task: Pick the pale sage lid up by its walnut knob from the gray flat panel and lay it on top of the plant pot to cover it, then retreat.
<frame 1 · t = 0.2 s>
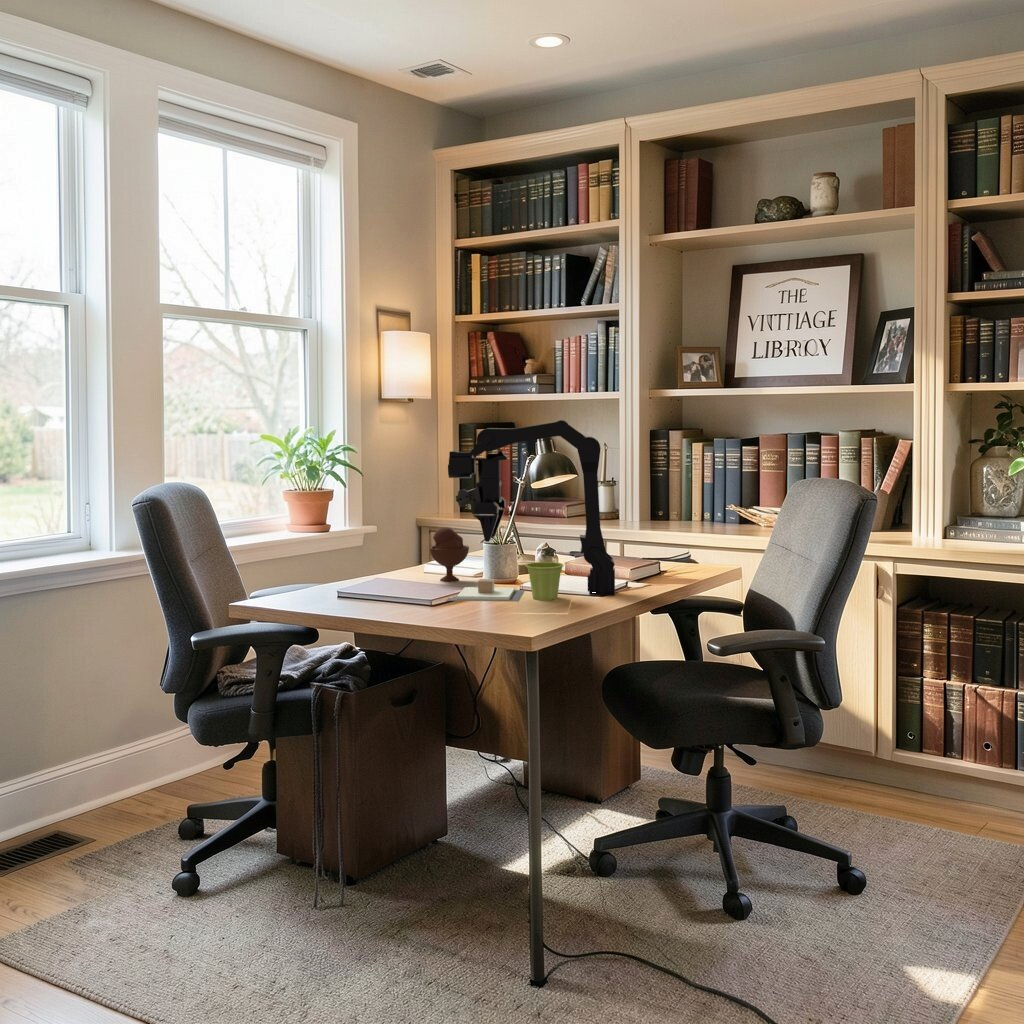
hand: (489, 539, 274), 14 cm above the table, fingers open, 9 cm apart
ice cream bowl: (449, 582, 294), on the table
gray flat panel: (486, 596, 271), on the table
sage lid: (486, 595, 271), resting on gray flat panel
plant pot: (544, 600, 266), on the table
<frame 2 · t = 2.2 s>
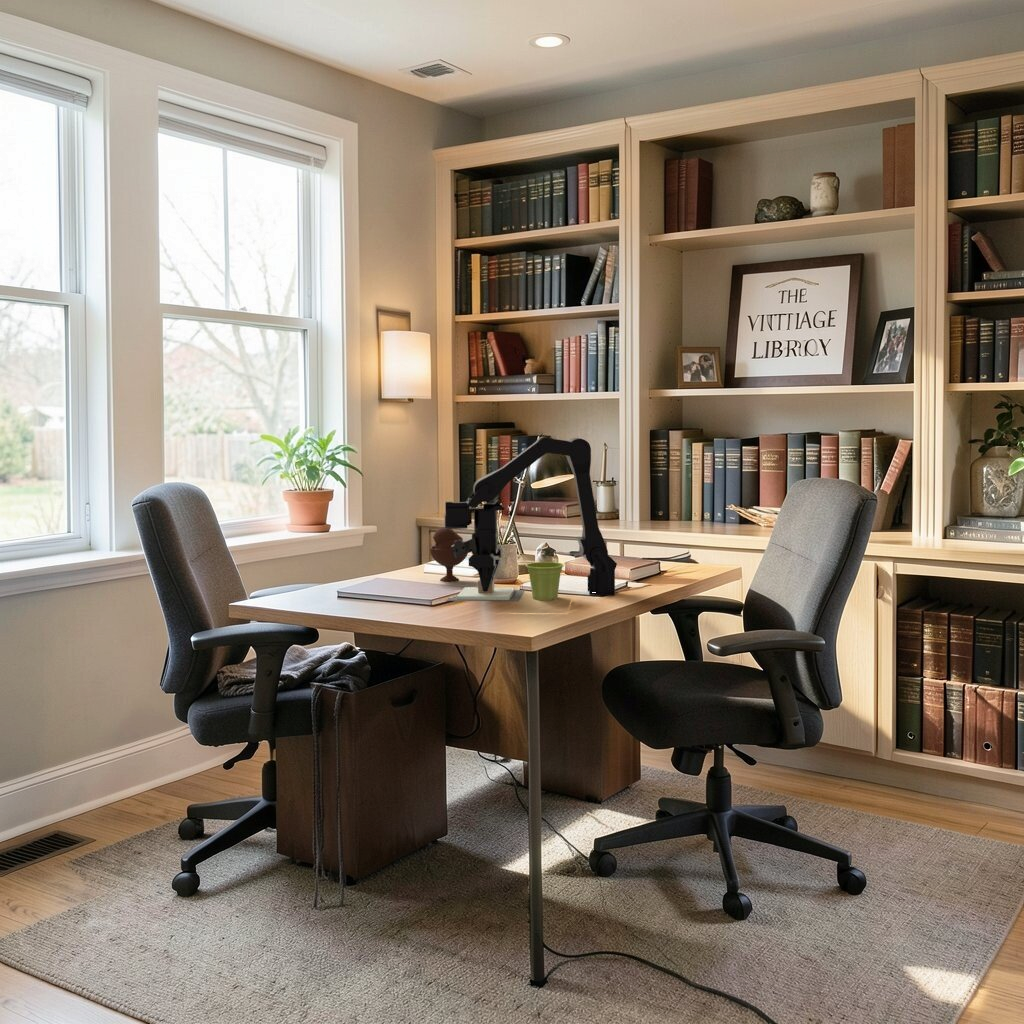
hand: (486, 589, 271), 2 cm above the table, fingers closed on sage lid, 4 cm apart
sage lid: (486, 595, 271), resting on gray flat panel, touching gripper
everything else where it was.
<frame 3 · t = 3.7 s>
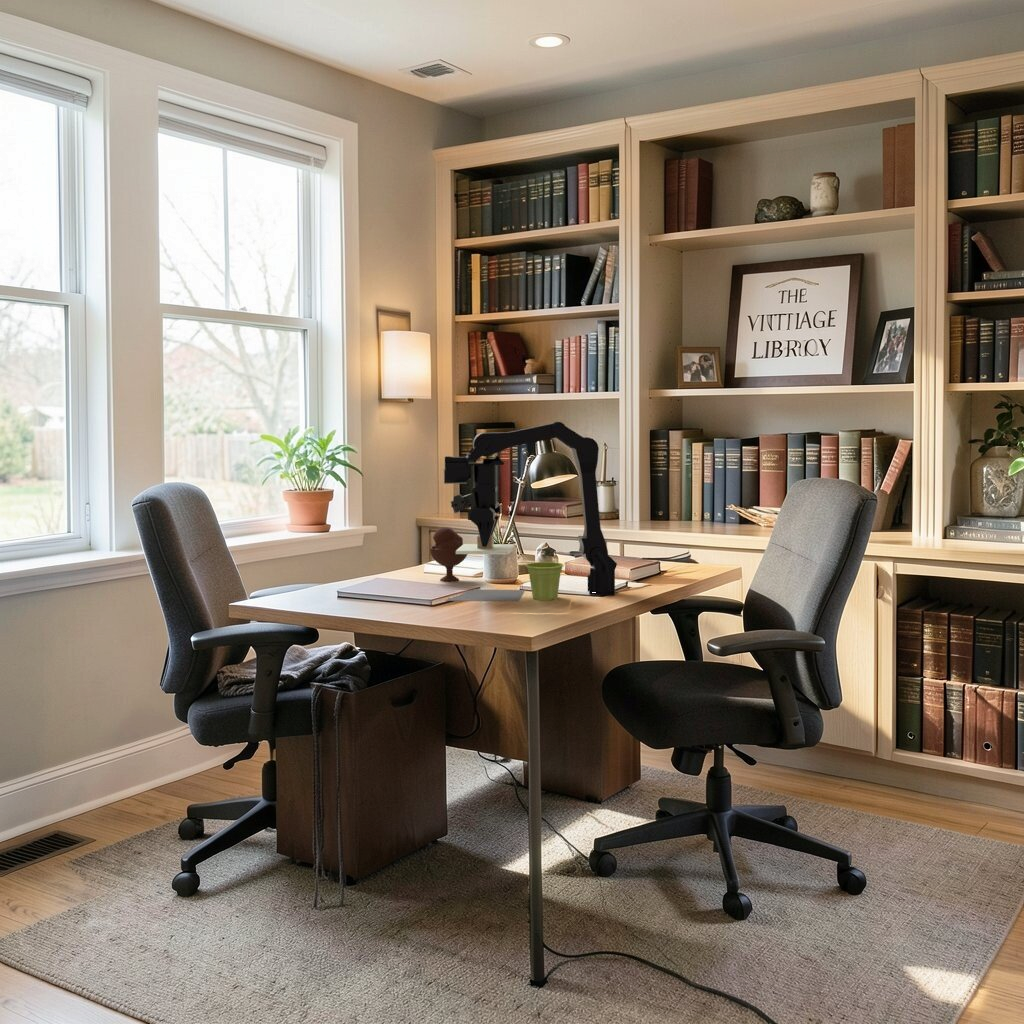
hand: (485, 545, 270), 13 cm above the table, fingers closed on sage lid, 4 cm apart
sage lid: (485, 550, 270), point 12 cm above the table, touching gripper
everything else where it was.
when the fingers open (12 cm above the table, at t = 5.3 s): sage lid drops 2 cm, resting on plant pot.
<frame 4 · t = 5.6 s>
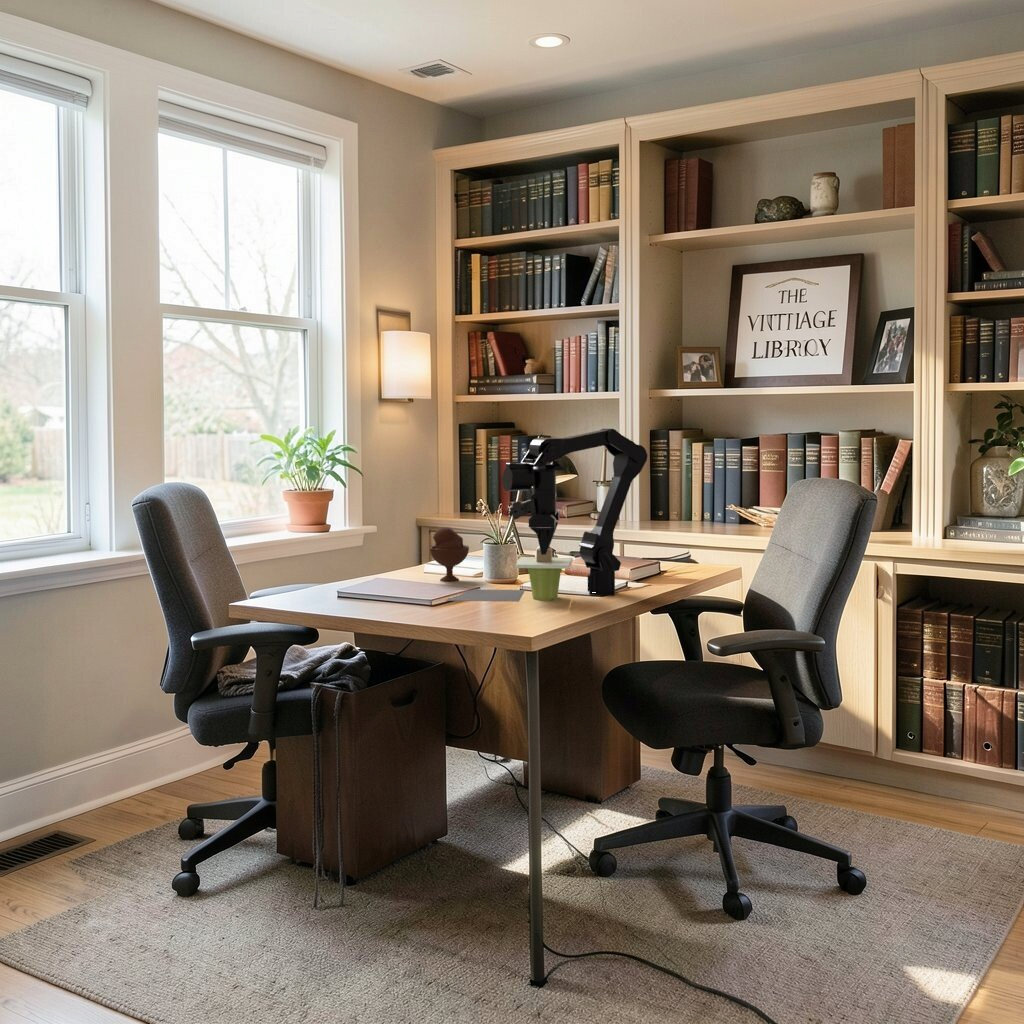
hand: (544, 552, 265), 12 cm above the table, fingers open, 6 cm apart
sage lid: (544, 564, 265), point 9 cm above the table, touching plant pot
plant pot: (544, 600, 266), on the table, touching sage lid
everything else where it was.
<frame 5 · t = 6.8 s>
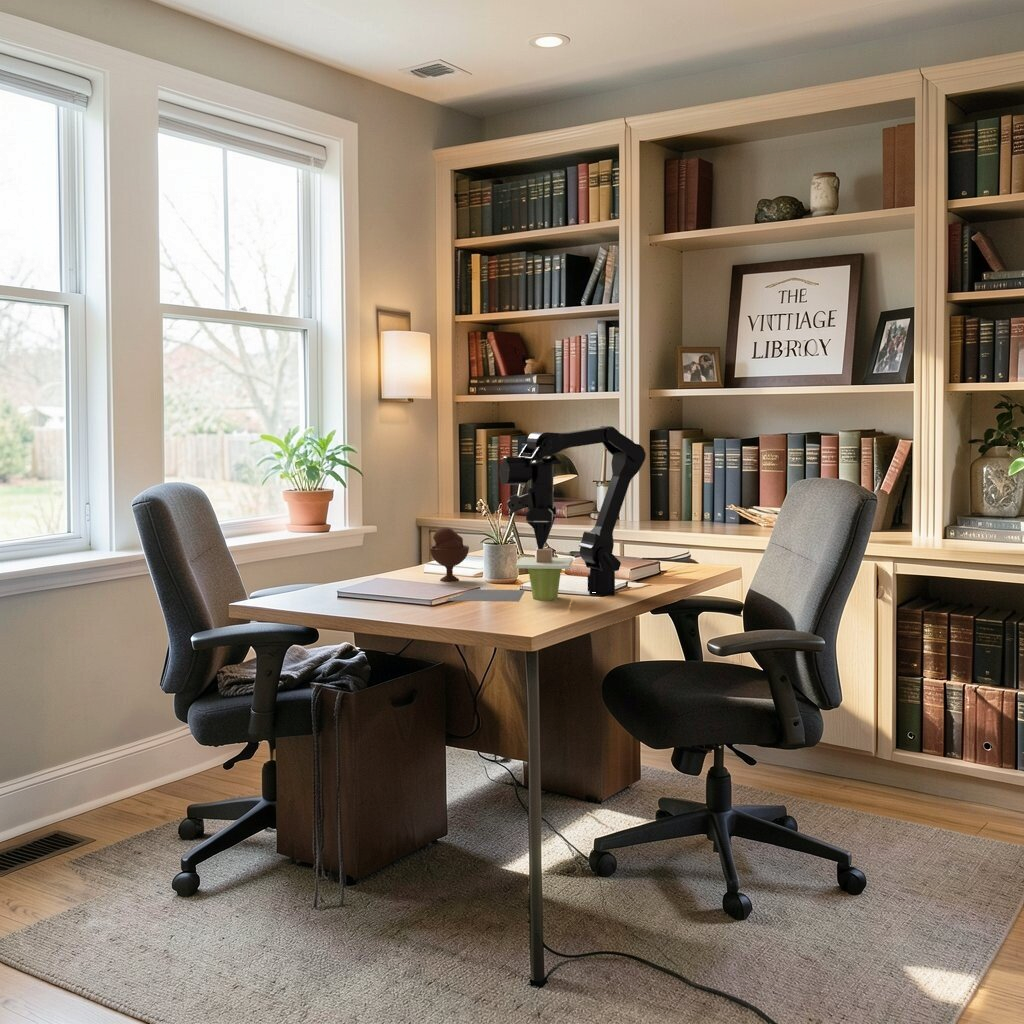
hand: (541, 546, 265), 13 cm above the table, fingers open, 9 cm apart
nothing on the table moved.
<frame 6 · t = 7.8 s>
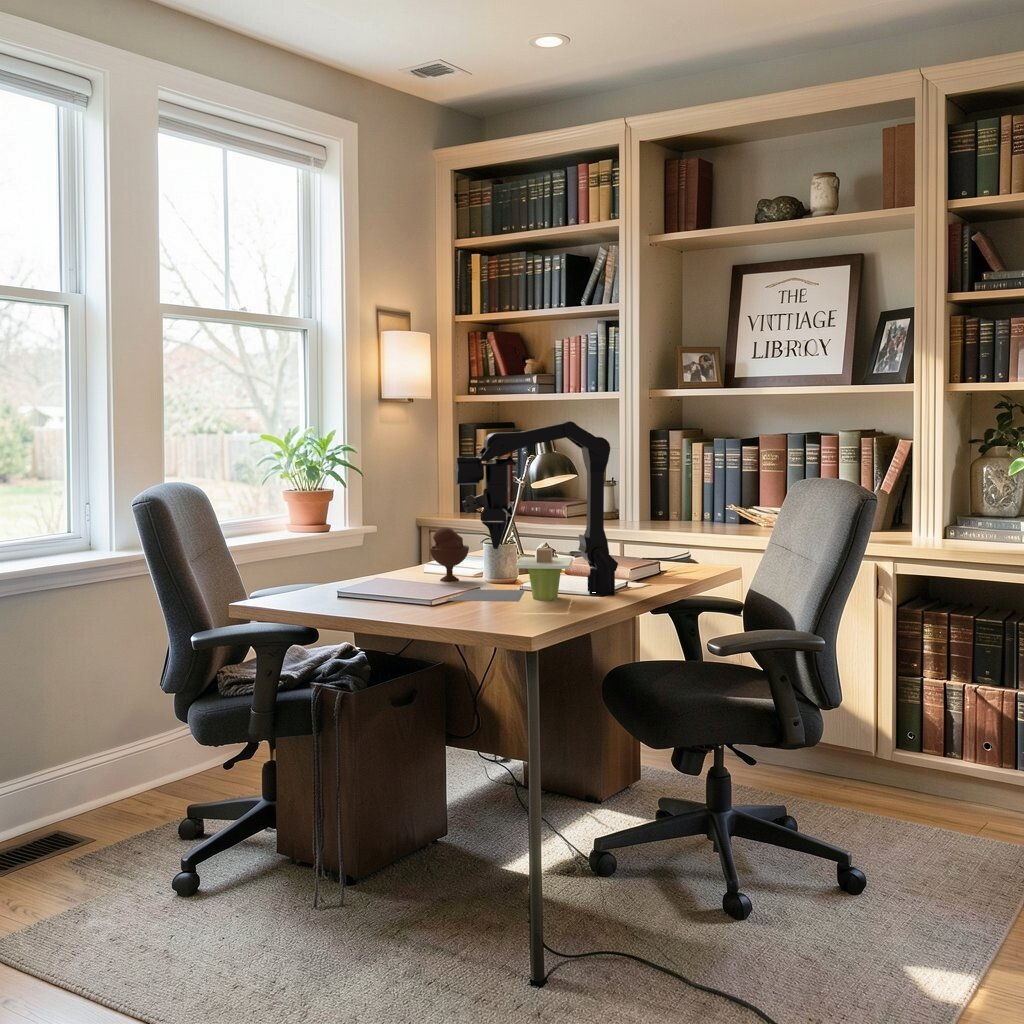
hand: (497, 546, 267), 13 cm above the table, fingers open, 9 cm apart
nothing on the table moved.
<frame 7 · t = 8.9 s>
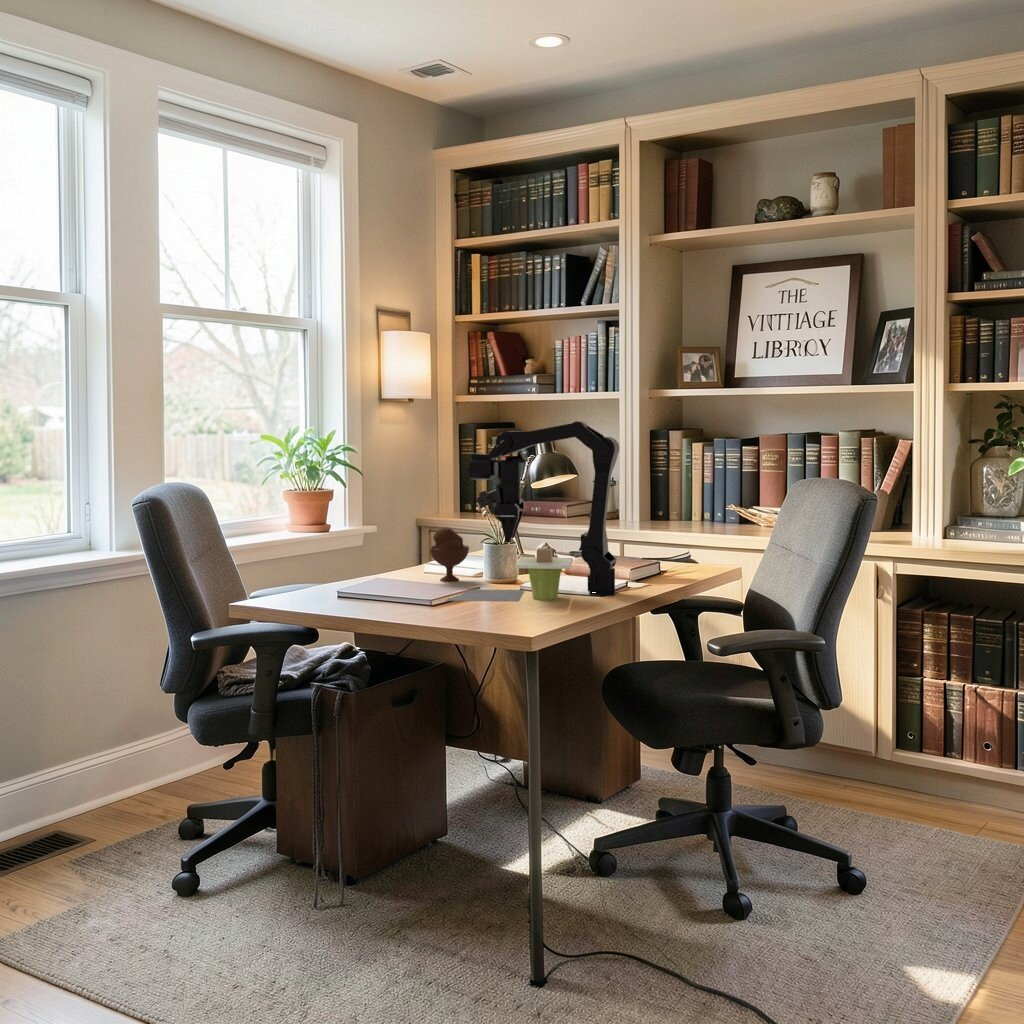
hand: (509, 540, 279), 13 cm above the table, fingers open, 9 cm apart
nothing on the table moved.
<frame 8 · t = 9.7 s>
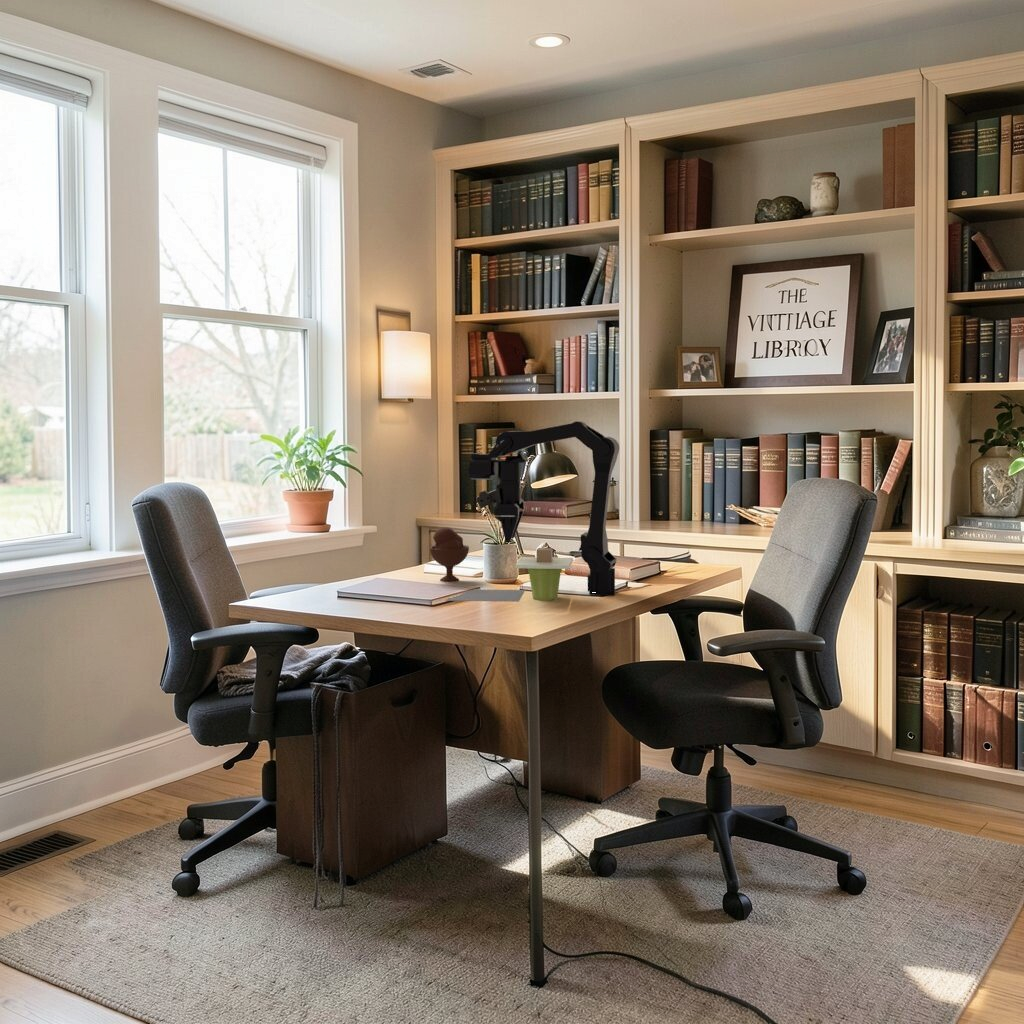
hand: (509, 540, 279), 13 cm above the table, fingers open, 9 cm apart
nothing on the table moved.
at the end: sage lid 0.1 cm from the plant pot (horizontally); sage lid point 8.6 cm above the table; the gripper is holding nothing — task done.
